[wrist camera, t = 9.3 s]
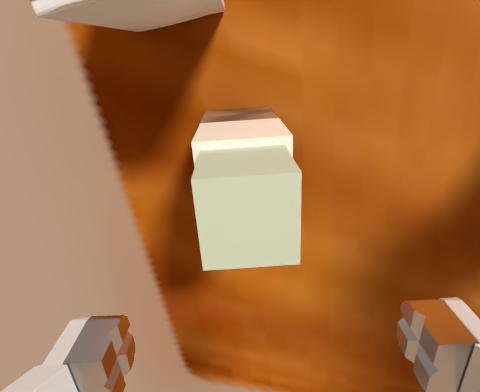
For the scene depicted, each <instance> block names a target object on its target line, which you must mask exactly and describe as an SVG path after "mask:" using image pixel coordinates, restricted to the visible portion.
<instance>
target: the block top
mask: <svg viewBox="0 0 480 392" xmlns="http://www.w3.org/2000/svg"><path fill="white" fill-rule="evenodd" d="M191 145H192V153H193V160H194V168H195V166H196V163H197V160H198V157H199V154H200V151H201V150H211V149H226V148H240V147H255V146H270V145H285V146H286V148H287V150H288V151H289V153H290V154H291V156H292V158H293V135H292V134H291V133H290V131H289V130H288V129H287V128H286V126H285V125H284V124H283V123H282V121H281V120H280V119H279V118H271V119H256V120H241V121H227V122H212V123H200V125H199V127H198V129H197V131H196V133H195V135H194V138H193V140H192V142H191Z"/></svg>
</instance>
